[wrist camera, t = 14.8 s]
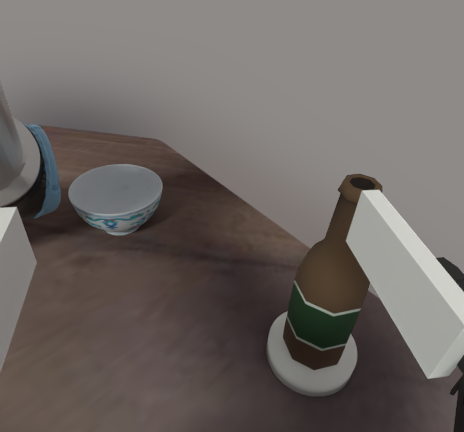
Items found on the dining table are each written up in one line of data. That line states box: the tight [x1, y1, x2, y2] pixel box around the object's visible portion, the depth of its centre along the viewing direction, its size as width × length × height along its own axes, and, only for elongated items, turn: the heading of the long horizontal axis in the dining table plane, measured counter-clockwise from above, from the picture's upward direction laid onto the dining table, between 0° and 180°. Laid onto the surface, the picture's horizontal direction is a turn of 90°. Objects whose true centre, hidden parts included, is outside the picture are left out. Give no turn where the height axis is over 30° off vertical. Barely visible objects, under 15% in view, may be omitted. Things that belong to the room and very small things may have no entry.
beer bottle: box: [283, 174, 382, 370], centre depth 40 cm, size 8×8×24 cm
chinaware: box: [68, 164, 163, 235], centre depth 65 cm, size 15×15×8 cm
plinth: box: [266, 311, 357, 397], centre depth 48 cm, size 11×11×2 cm
